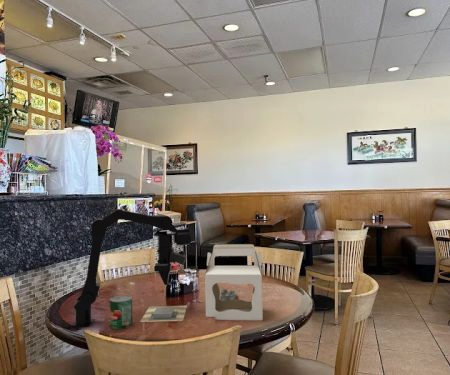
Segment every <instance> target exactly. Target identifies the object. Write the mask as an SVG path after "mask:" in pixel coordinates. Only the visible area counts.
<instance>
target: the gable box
mask: <svg viewBox="0 0 450 375" xmlns="http://www.w3.org/2000/svg"><path fill="white" fill-rule="evenodd" d="M261 253H262V252H261V251H258V252H257V251H256V249H255V245H254V244H253V243H250V244H249V243H244V244H243V243H242V244H241V243H238V244H237V243H236V244H234V243H231V244H230V243H229V244H222V243H220V244H218V243H217V244H214V245H213V249H212V251H211V252H207V258H206V270H205V273H204V281H205V282H204V284H205V285H204V287H205V291H204V294H205V318H206V317H208V318H209V317H211V318H213V317H214V320H215V321H263V319H264V318H263V316H264V314H263V280H262V279H263V278H262V277H263V276H262V274H263V273H262V271H263V270H262V265H263V262H262V254H261ZM219 256H220V257H252V258H253V265H252V264H251V265H243V264H242V265H241V264H239V265H235V264H233V265H229V264H226V265H223V264H222V265H215V258H216V257H219ZM220 283H224V284H225V283H226V284H230V285H231V284H232V285H243V284H248V285H249V284H250V285H252V286H253V289H252V297H251V301H246V300H243V299H237V298H236V299H234V300H229V301H221V300H220V293H221V290H220V287H219V284H220Z"/></svg>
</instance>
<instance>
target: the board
mask: <svg viewBox="0 0 450 375" xmlns="http://www.w3.org/2000/svg"><path fill="white" fill-rule="evenodd" d="M157 307H174V313H173V316H172V318H153V313H154V312H155V310H156V308H157ZM187 307H188V305H166V306H164V305H163V306H159V305H158V306H149V307H148V308H147V310H146V311H145V313H144V314H143V316H142V318H141V319H140V320H139V322H140V323H145V322H146V323H147V322H148V323H149V322H152V323H153V322H154V323H155V322H181V321H184V318H185V315H186V310H187Z"/></svg>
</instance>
